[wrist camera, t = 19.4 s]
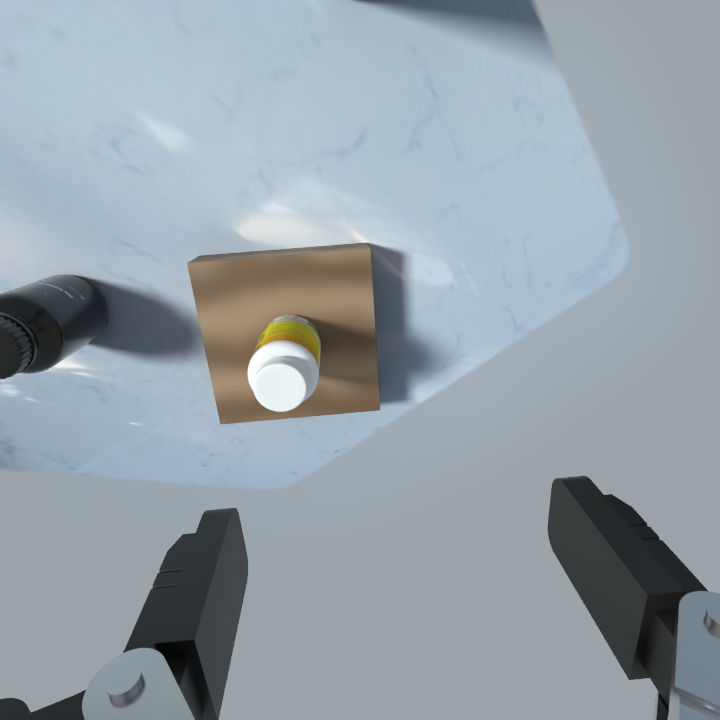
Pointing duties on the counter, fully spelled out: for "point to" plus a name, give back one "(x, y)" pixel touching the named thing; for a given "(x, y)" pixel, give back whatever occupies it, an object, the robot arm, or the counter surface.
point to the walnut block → (289, 297)
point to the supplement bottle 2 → (285, 363)
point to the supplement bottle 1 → (47, 323)
